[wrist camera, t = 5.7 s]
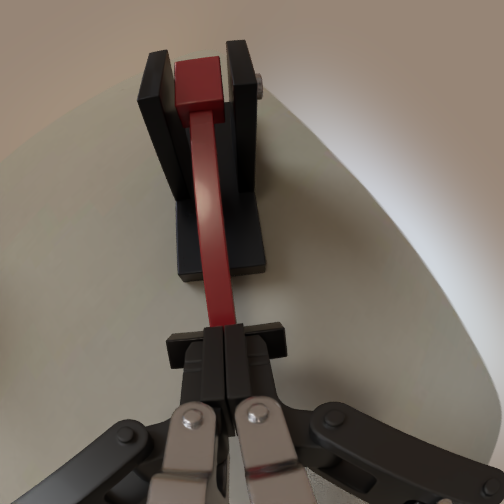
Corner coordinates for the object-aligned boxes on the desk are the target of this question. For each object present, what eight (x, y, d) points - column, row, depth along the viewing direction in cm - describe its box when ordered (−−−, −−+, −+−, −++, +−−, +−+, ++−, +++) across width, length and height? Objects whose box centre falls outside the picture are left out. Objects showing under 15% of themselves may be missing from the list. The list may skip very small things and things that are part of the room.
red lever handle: (281, 345, 13) (290, 361, 11) (178, 356, 13) (167, 373, 11) (246, 79, 14) (248, 52, 12) (157, 91, 14) (146, 67, 11)
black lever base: (273, 271, 18) (297, 172, 9) (175, 283, 17) (105, 198, 8) (245, 113, 23) (244, 11, 14) (175, 121, 22) (151, 23, 13)
